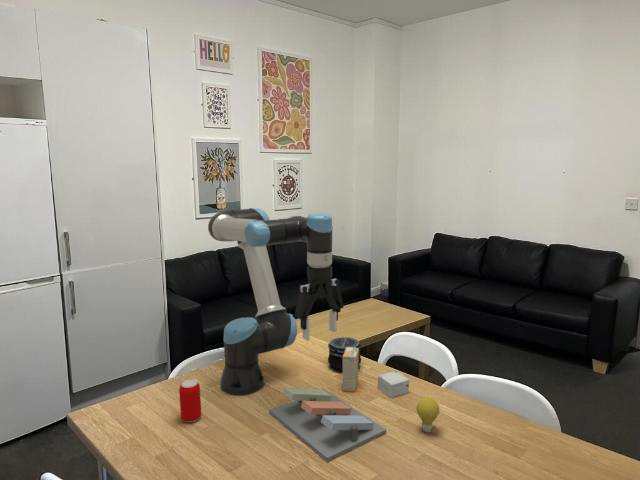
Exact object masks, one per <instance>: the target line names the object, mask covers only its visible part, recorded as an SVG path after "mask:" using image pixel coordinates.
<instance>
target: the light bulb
mask: <svg viewBox="0 0 640 480" xmlns="http://www.w3.org/2000/svg"><path fill="white" fill-rule="evenodd" d="M416 412H417V415H418V417H419V419H420V420H421V428H422V430H423V431H424V432H426V433H430V432H432V429H433V428H434V426H433V425H434V421H436V419H437V417H439V415H440V406H439V403H438V402H437V401H436V400H435V399H433V398H432V397H422V398H421V399H419V400H418V401H417V404H416Z"/></svg>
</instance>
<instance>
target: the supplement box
mask: <svg viewBox="0 0 640 480" xmlns="http://www.w3.org/2000/svg"><path fill="white" fill-rule="evenodd" d="M358 360H359V348H353V347H346V349H345V351H344V354H343V373H342V387H341V388H342V392H349V393H356V390H357V386H358V383H359V368H358Z"/></svg>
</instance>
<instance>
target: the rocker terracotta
mask: <svg viewBox="0 0 640 480" xmlns="http://www.w3.org/2000/svg"><path fill="white" fill-rule="evenodd" d="M346 404H347V403H346ZM346 404H344V403H342V402H331V401H302V404H301V408H302V409H304V410H305V411H306V412H308V413H309V414H311V415H330V412H332V411H335V412H336V415H350V412H351V409H352V408H353V407H352V408H350V407H349V406H350V405H349V406H347V405H346Z"/></svg>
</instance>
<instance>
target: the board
mask: <svg viewBox="0 0 640 480" xmlns="http://www.w3.org/2000/svg"><path fill="white" fill-rule="evenodd" d="M323 390H324V391H326V392H327V393H329V394H330V395H332V396H331V400H330V401H331V402H342V403H344V404H346V405H347V406H349V407H350V408H352V409H351V412H350V415H359V416H364V417H365V418H367V419H368V420H370V421H371V422H373V423H374V424H373V427H372V430H358V427H357V426H355V427H352V431H350V430H330V429H329V428H328V427H326V426H325V425H324V424H322V423H321V420H322V416H323V415H311V414H309V413H308V412H306V411H305V410H304V409H302V408H301V404H302V401H299V400H291V401H290V402H287V403H284V404H281V405H279V406H277V407H276V406H275V407H274V408H271V409H269V414H270V416H272V417H273V418H274V419H275V420H277V421H278V422H279V423H280V424H282V425H283V427H285V428H286V429H287V430H289V432H291V433H292V434H293V435H294V436H296V437H297V438H298V439H299V440H300V441H302V442H303V444H305V445H306V446H307V447H309V448H310V449H311V450H312V451H313V452H315V454H317V455H318V456H319V457H321V458H322V459H323V460H324V461H325V462H326V463H328V462H330V461H332V460H335V459H337V458H339V457H341V456H342V455H345V454H347V453H349V452H351V451H353V450H355V449H357V448H359V447H361V446H363V445H365V444H367V443H370V442H372V441H373V440H376V439H378V438H380V437H381V436H383V435H386V434H387V429H386V428H384V426H381V425H380V424H379V423H377V422H376V421H374V420H373V419H371V418H370V417H368V416H367V415H365V414H364V413H362V412H360V411H358V410H357V409H356V408H354V407H352V406H351V405H350V404H348V403H346V402H345V401H343V400H342V399H341V398H338V397H337V396H336V395H334V394H332V393H331V392H330V391H328V390H326V389H323ZM310 401H316V398H315V397H314V398H311V399H310ZM330 415H336V412H335V411H332V412H330Z"/></svg>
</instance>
